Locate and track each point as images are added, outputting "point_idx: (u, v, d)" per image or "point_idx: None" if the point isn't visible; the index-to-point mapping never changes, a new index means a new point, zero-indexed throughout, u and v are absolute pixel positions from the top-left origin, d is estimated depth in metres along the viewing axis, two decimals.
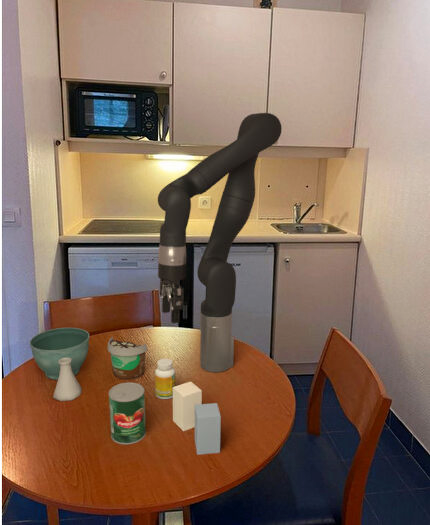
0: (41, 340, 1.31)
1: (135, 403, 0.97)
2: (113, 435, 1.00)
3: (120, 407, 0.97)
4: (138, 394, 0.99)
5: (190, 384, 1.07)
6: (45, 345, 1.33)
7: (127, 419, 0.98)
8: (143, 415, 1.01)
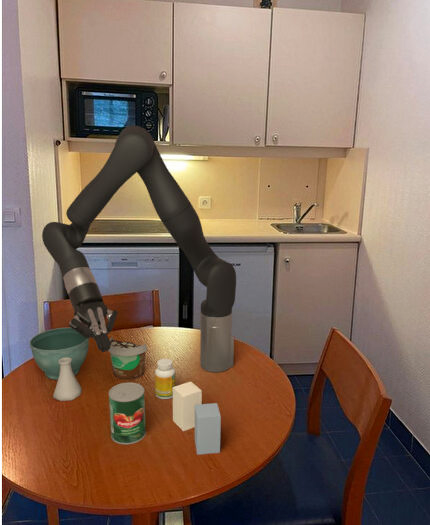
0: (41, 340, 1.31)
1: (135, 403, 0.97)
2: (113, 435, 1.00)
3: (120, 406, 0.97)
4: (138, 394, 0.99)
5: (190, 384, 1.07)
6: (45, 345, 1.33)
7: (127, 419, 0.98)
8: (143, 415, 1.01)
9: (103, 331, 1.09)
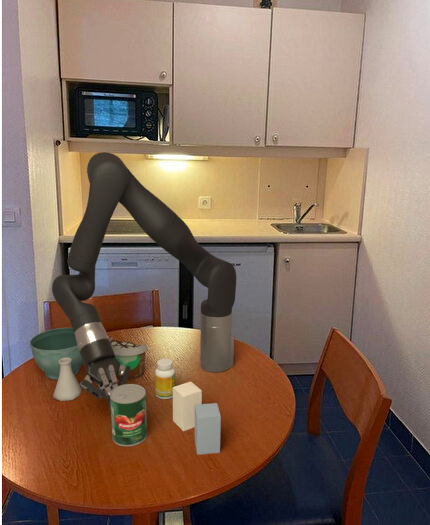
0: (41, 340, 1.31)
1: (136, 405, 0.97)
2: (114, 437, 0.99)
3: (122, 408, 0.96)
4: (139, 396, 0.99)
5: (190, 384, 1.07)
6: (45, 345, 1.33)
7: (129, 420, 0.97)
8: (144, 417, 1.00)
9: None
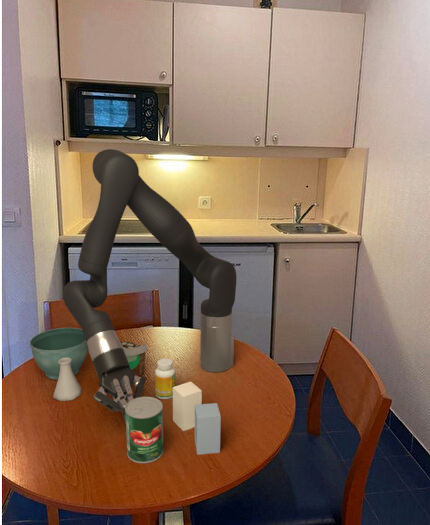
0: (41, 340, 1.31)
1: (153, 420, 0.92)
2: (129, 453, 0.94)
3: (137, 423, 0.91)
4: (156, 410, 0.93)
5: (190, 384, 1.07)
6: (45, 345, 1.33)
7: (144, 436, 0.92)
8: (161, 432, 0.95)
9: None
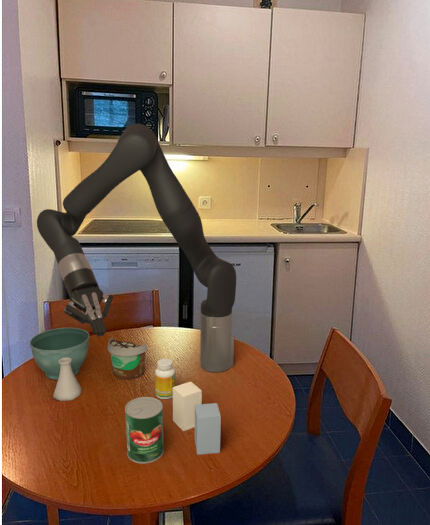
0: (41, 340, 1.31)
1: (153, 420, 0.92)
2: (129, 453, 0.94)
3: (137, 424, 0.91)
4: (156, 410, 0.93)
5: (190, 384, 1.07)
6: (45, 345, 1.33)
7: (144, 436, 0.92)
8: (161, 432, 0.95)
9: (98, 316, 1.09)
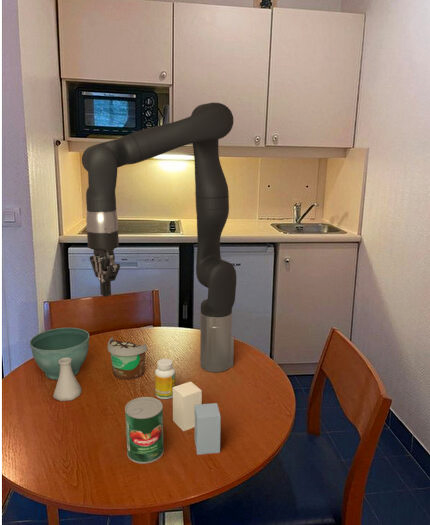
0: (41, 340, 1.31)
1: (153, 420, 0.92)
2: (129, 453, 0.94)
3: (137, 424, 0.91)
4: (156, 410, 0.93)
5: (190, 384, 1.07)
6: (45, 345, 1.33)
7: (144, 436, 0.92)
8: (161, 432, 0.95)
9: None
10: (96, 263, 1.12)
